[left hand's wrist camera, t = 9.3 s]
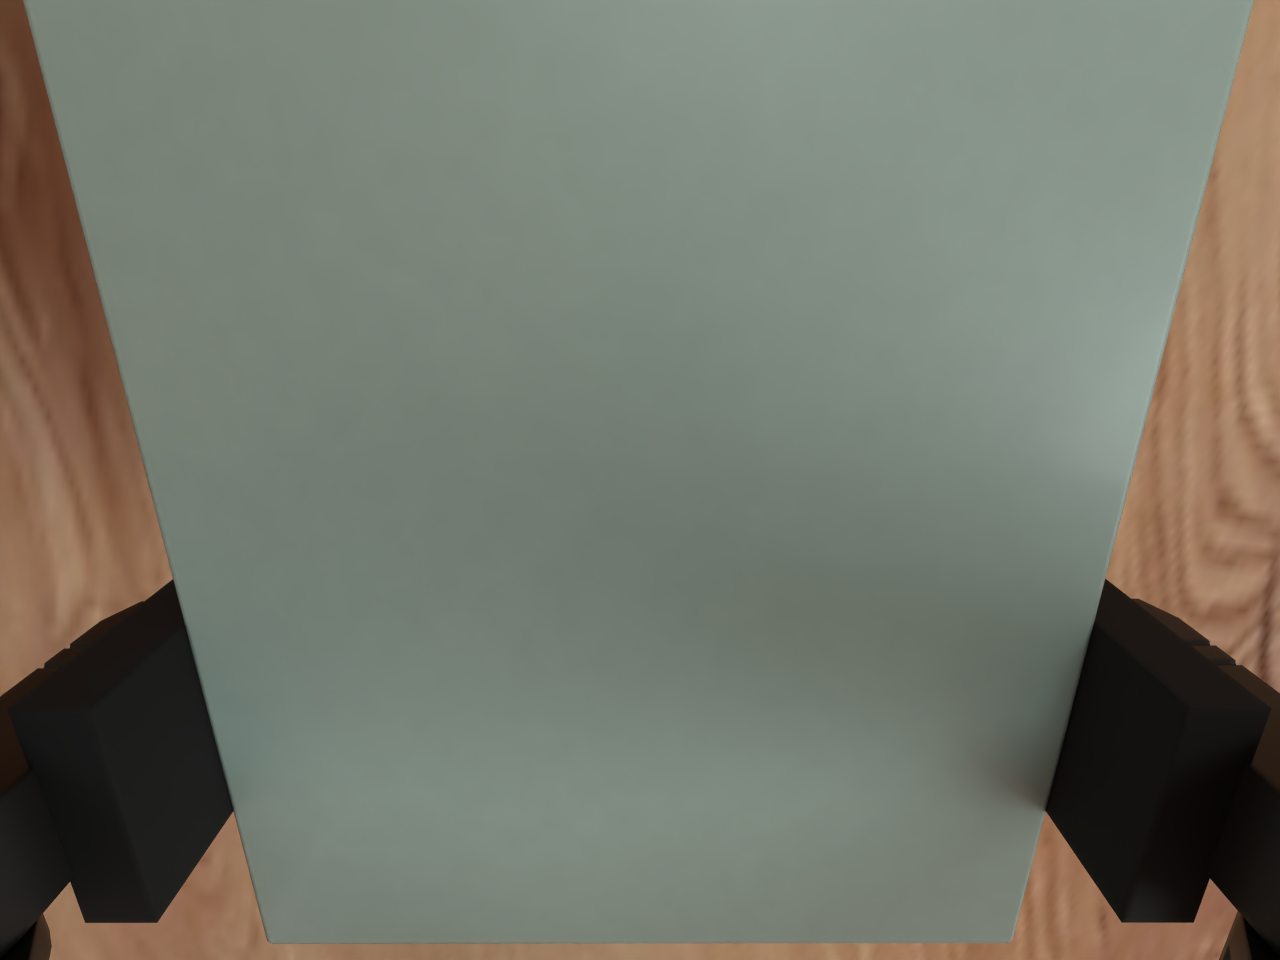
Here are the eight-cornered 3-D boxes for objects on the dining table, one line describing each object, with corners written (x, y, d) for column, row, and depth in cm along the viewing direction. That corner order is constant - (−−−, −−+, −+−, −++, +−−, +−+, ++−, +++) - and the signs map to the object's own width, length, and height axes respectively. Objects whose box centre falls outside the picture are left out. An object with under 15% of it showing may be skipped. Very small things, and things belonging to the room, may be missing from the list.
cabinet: (380, -228, 14) (-376, -1495, 4) (897, -228, 14) (1647, -1499, 4) (459, 563, 20) (265, 946, 10) (820, 562, 20) (1014, 946, 10)
